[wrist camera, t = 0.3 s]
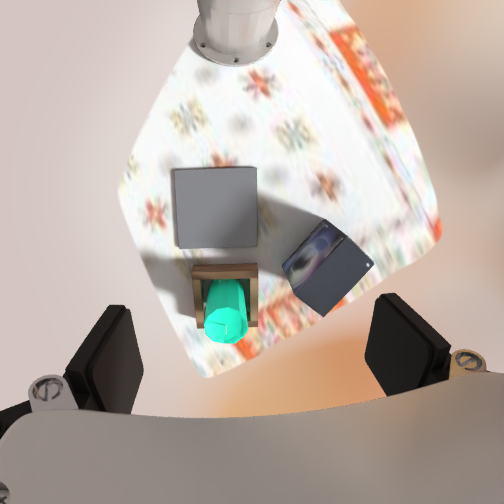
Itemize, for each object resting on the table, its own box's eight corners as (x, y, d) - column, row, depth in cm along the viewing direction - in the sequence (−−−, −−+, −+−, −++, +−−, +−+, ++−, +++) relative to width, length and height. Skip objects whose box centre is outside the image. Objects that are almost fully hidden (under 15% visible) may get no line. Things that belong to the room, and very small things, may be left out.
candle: (200, 295, 49) (194, 336, 38) (222, 269, 48) (221, 305, 36) (229, 314, 50) (230, 358, 39) (251, 289, 49) (258, 329, 38)
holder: (193, 265, 47) (191, 272, 44) (256, 263, 48) (258, 270, 45) (198, 319, 50) (197, 328, 48) (256, 317, 51) (257, 326, 48)
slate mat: (175, 170, 42) (174, 170, 42) (256, 167, 43) (256, 168, 42) (179, 247, 46) (179, 248, 45) (256, 245, 47) (256, 246, 46)
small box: (323, 215, 46) (348, 233, 36) (349, 240, 48) (377, 263, 38) (279, 265, 48) (292, 294, 38) (307, 287, 50) (325, 319, 40)
